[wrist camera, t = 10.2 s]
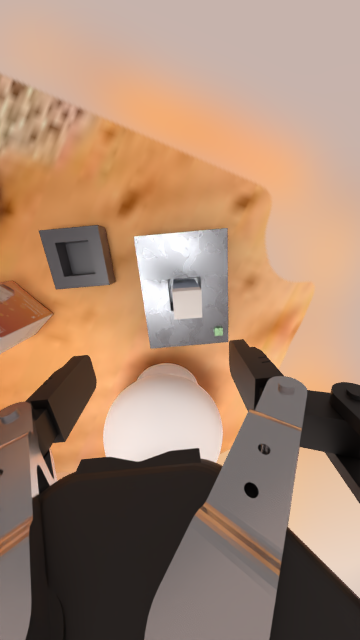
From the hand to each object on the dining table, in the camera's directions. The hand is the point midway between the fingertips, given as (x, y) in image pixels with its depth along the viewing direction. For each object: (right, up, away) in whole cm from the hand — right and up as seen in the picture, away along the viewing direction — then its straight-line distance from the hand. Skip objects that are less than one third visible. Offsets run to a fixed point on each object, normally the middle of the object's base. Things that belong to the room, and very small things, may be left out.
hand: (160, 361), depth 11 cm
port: (+2, +8, +21) cm, 22 cm away
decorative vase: (-2, -12, +28) cm, 30 cm away
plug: (+2, +7, +20) cm, 21 cm away
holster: (-14, +12, +19) cm, 26 cm away
